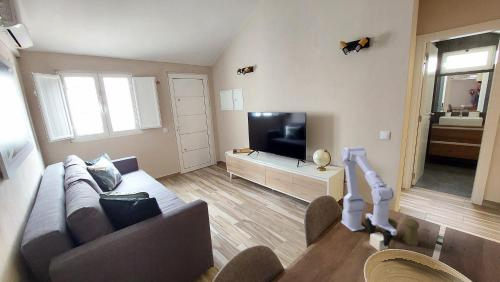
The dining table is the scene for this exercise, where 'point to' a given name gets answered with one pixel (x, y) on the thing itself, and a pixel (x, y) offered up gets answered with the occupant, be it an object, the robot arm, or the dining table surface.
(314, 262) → the dining table surface
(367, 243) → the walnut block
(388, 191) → the robot arm
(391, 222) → the cup
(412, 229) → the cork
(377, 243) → the offwhite cube
